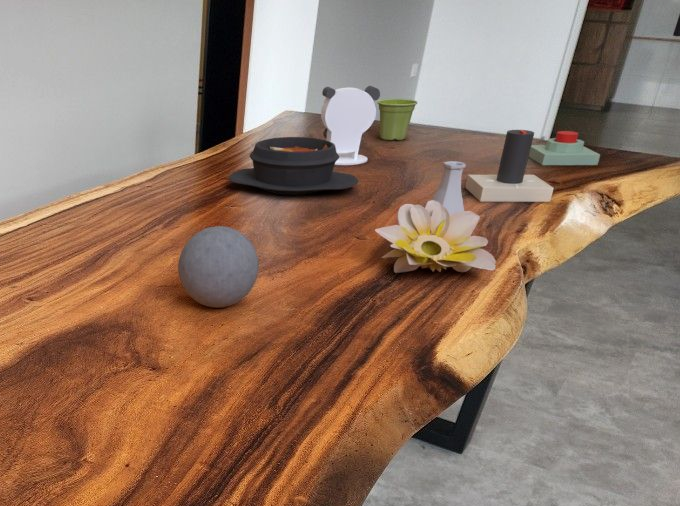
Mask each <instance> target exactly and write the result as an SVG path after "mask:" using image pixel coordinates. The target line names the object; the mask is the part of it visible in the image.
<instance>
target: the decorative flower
mask: <svg viewBox="0 0 680 506" xmlns="http://www.w3.org/2000/svg"><path fill="white" fill-rule="evenodd" d="M397 221H398V224H393V225H388V226H383V227H378V228H375V229H374V231H375V232H376V233H377V235H379V236H381V238H383V239H385V240H386V241H388V242H390V243H391V244H390V248H392V250H390V251H389V252H387V253H386V254H385V255H383V256H381V257H380V258H381V259H383V260H386V259H387V260H388V259H391V258H397V259H396V261H395V263H394V265H393V272H394V273H396V274H398V273H407V272H412V271H415V270H418V268H419V267H421V269H430V270H431V271H432V272H433V273H434V272H435V270H437V272H439V273H441V271H442V269H444V270H447V268H452V269H453V270H455V271H456V272H460V273H465V272H468V271H470V269H472V268H474V269H480V270H488V271H495V270H496V262H497V261H496V259H495V257H494V256H493V254H492V253H490V252H489V251H488V250H486V249H484V248H482V247H486V246H487V245H488V244H489V241H488V239H487V237H484V236H479V235H477V236H476V235H472V234H473V232H474V230H475V228H476V227H477V225H478V222H479V221H480V216H479V214H477V213H476V212H474V211H472V210H464V211H461V212H458V213H454V214H452V215H451V216H449V213H448V211H447V209H446V208H445V207H442V206H441V204H440V203H439V202H437V201H434V200H432V199H431V200H427V202H426V205H425V207H424V206H423V205H421V204H413V203H404V204H403V205H401V206H399V209H398V210H397Z"/></svg>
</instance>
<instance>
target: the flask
mask: <svg viewBox="0 0 680 506" xmlns="http://www.w3.org/2000/svg"><path fill="white" fill-rule="evenodd" d="M442 166H443V174H442V177H441V180H440V182H439V185H438V187H437V189H436V190H435V192H434V194H433V196H432V198H431V200H434V201H437V202H439V203H440V204H441V206H442V207H445V208H446V209H447V211H448V213H449V216H451V215H452V214H454V213H458V212H461V211H465V206H464V200H463V193H462V176H463V170H464V169H465V168H466V166H467V164H466V163H465V162H463V161H462V162H461V161H456V160H454V161H453V160H450V161H443V162H442Z"/></svg>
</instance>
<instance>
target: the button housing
mask: <svg viewBox="0 0 680 506" xmlns="http://www.w3.org/2000/svg"><path fill="white" fill-rule="evenodd" d="M555 139H556V137H552V138H551V137H550V138H547V139H546V143H545V144H532V145H531V149H530V153H529V157H528V158H530V159H532V160H533V161H535V162H536V163H538V164H539V165H541V166H598V164H599V161H600V157H601V154H600V153H598V152H596V151H594V150H592V149H590V148H588V147H587V146H584V145H585V141H584V140H582V139H578V138H577V141H576V143H561V142H555Z"/></svg>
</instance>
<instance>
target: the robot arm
mask: <svg viewBox="0 0 680 506" xmlns="http://www.w3.org/2000/svg"><path fill="white" fill-rule="evenodd" d="M672 37H680V14H679V15H678V19H677V20H676V24H675V28H674V30H673V33H672Z"/></svg>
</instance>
